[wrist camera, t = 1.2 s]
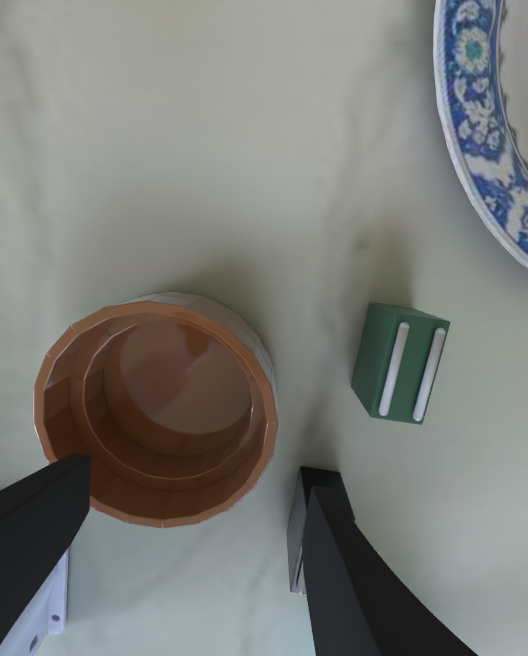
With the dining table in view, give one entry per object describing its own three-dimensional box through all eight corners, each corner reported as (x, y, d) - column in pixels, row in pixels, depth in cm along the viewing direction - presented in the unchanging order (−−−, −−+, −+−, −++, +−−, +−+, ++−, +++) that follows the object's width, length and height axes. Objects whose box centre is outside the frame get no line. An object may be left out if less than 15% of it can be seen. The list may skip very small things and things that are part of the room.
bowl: (259, 481, 21) (257, 542, 16) (82, 455, 21) (31, 510, 16) (289, 307, 18) (296, 323, 14) (90, 277, 18) (33, 283, 14)
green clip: (393, 393, 19) (426, 429, 15) (350, 386, 19) (372, 421, 15) (414, 308, 18) (456, 323, 14) (369, 301, 18) (398, 314, 14)
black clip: (324, 540, 22) (337, 606, 17) (286, 534, 22) (290, 600, 17) (340, 471, 20) (358, 525, 16) (300, 465, 20) (307, 518, 16)
